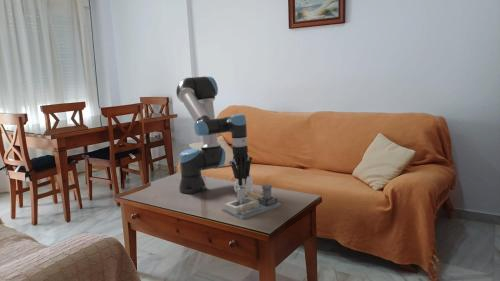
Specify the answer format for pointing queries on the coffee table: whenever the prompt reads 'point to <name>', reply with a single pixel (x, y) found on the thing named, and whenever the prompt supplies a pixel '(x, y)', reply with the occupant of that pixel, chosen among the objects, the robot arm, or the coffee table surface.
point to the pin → (241, 196)
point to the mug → (247, 186)
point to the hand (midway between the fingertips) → (242, 191)
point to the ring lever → (260, 198)
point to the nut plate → (250, 205)
